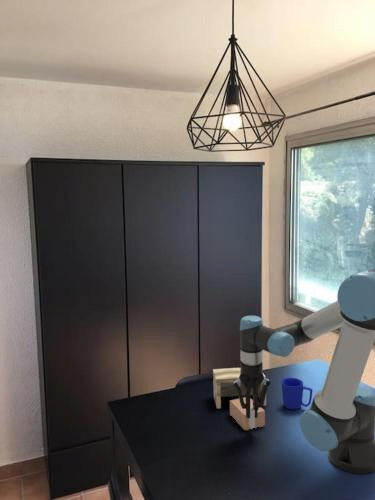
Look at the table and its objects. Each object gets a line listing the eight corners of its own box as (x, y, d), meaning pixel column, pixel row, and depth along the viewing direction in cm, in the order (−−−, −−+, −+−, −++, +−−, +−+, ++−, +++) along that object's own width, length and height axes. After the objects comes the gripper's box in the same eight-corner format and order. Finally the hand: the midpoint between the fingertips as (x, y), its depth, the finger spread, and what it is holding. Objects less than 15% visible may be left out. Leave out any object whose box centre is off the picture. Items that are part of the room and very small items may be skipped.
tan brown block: (264, 426, 157) (264, 410, 156) (245, 431, 154) (244, 415, 153) (248, 411, 168) (248, 396, 167) (230, 415, 165) (229, 400, 164)
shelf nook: (266, 405, 172) (266, 377, 170) (217, 408, 170) (216, 380, 169) (259, 393, 182) (259, 366, 181) (213, 395, 181) (212, 369, 180)
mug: (307, 416, 162) (307, 391, 161) (277, 407, 170) (277, 383, 168) (315, 407, 169) (316, 383, 168) (286, 399, 176) (286, 375, 175)
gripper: (267, 356, 153) (267, 419, 156) (230, 358, 152) (231, 421, 155) (273, 364, 146) (273, 430, 149) (234, 366, 145) (235, 433, 148)
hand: (251, 426), depth 152 cm, fingers closed
